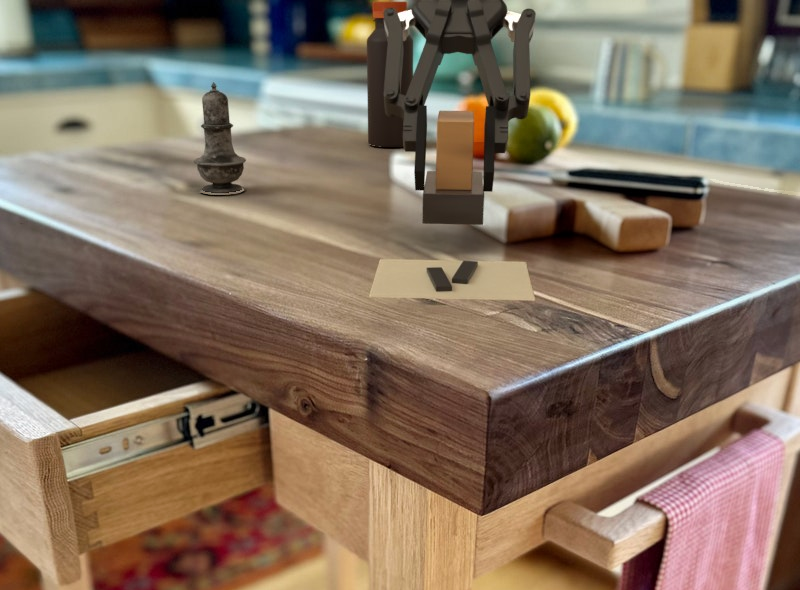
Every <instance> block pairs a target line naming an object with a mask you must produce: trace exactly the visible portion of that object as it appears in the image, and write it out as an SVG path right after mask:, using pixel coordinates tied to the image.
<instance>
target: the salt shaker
mask: <svg viewBox="0 0 800 590" xmlns="http://www.w3.org/2000/svg"><path fill="white" fill-rule="evenodd" d="M210 87H211V89H210V90H209V91H208V92H205V94H203V96H202V99H201V104H202V115H203V123H202V124H200V127H201V128H202V129H203V132H204V133H203V134H204V151H203V154H201V156H200V157H197V158H195V159H194V160H193V164H195V165H196V167H197V169H196V170H197V171H198V174H199V175H200V177H201V178H202V179H203V180H204V181H205V182H208V183H211V184H207V185H204V186H203V187H202V188H201V189H202V190H203V191H205V192H211V193H229V192H236V191H240V190H242V187H243V186H242V185H240V184H237V183H234V182H237V181H238V180H239V178H240V177H241V176H242V175H243V172H244V169H245V167H244V165H245V164H244V163H246V161H247V159H246V158H245V157H243V156H240V155H239V154H237V153H236V152H235V149H234V145H233V140H232V128H233V127H234V124H232V123H231V122H230V111H229V99H228V96H227V95H226V94H225V93H224V92H222V91H220V90H218V89H217V87H218V85H217V84H216V83H215V82H214V81H213V82H212V83H211V85H210Z"/></svg>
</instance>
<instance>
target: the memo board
mask: <svg viewBox="0 0 800 590" xmlns="http://www.w3.org/2000/svg"><path fill="white" fill-rule="evenodd" d="M463 261H464V260H454V259H453V260H452V259H451V260H449V259H447V260H446V259H393V258H392V259H391V258H389V259H388V258H380V259H379V262H378V265H377V268H376V271H375V275H374V279H373V282H372V285H371V288H370V291H369V295H368V298H386V299H387V298H391V299H392V298H393V299H394V298H395V299H431V300H432V299H435V300H436V299H437V300H438V299H439V300H441V299H442V300H479V301H483V300H487V301H529V302H531V301H533V302H536V297H535V293H534V289H533V284H532V281H531V276H530V272H529V270H528V269H529V268H528V265H527V262H526V261H505V260H504V261H503V260H502V261H500V260H476V261H477V262H478V266H477V268H476V270H475V271H474V273H473V275H472V277H471V278H470V280H469V282H468V284H459V283H452V278H453V276H454V274H455V273H456V271H457V270H458V268H459V267H460V265H461V264H462V262H463ZM431 267H442V269H443V271H444V273H445V274H446V276H447V278H448V280H449V282H450V283H451V285H452V291H441V292H436V290H435V288H434V286H433V284H432V282H431V280H430V278H429V276H428V274H427V268H431Z"/></svg>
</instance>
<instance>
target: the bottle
mask: <svg viewBox="0 0 800 590" xmlns="http://www.w3.org/2000/svg"><path fill="white" fill-rule="evenodd" d="M390 7H391V8H394V9H396V11H397V13H400V12H404V11H408V2H407V1H389V0H388V1H387V0H386V1H372V18H373V20H372V22H374V30H372V32H371V33H370V34H369V36H368V37H367V39H366V81H367V82H366V84H367V85H366V87H367V143H368V145H369V144H371V145H375V146H381V147H403V122H404V120H403V119H402V118H401V117H399V116H396V117H388V116H387V115H386V113H385V104H384V82H385V70H386V58H387V46H388V41H387V38H386V35H385V27H384V14H383V12H384V10H385V9H386V8H390ZM413 75H414V39H413V37H412V36H411V35H410V34H409V35H408V36H407V37H406V40H405V41H403V65H402V78H401V91H400V94H402V95H405V96H406V94H407V91H408V88H409V86H410V83H411V80H412V78H413ZM403 148H404V147H403Z"/></svg>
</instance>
